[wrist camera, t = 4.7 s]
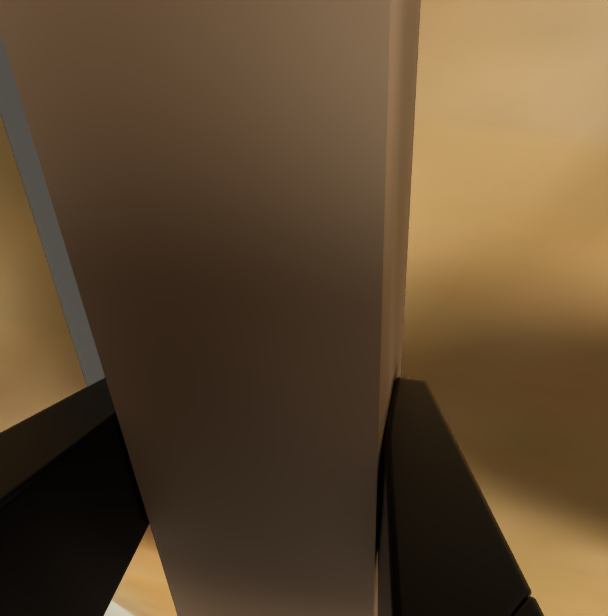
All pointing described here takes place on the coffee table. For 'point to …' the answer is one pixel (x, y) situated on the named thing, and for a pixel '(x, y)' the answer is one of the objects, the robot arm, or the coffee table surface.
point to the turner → (237, 269)
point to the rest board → (46, 221)
